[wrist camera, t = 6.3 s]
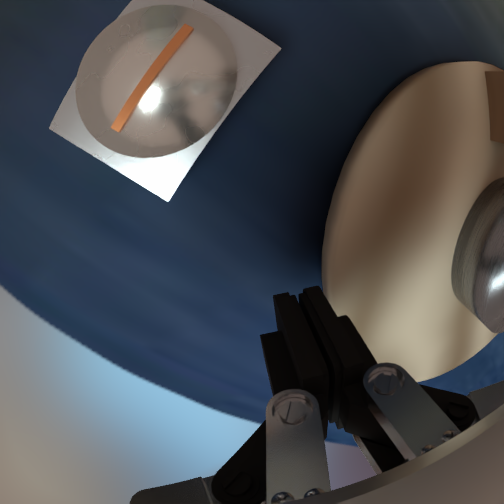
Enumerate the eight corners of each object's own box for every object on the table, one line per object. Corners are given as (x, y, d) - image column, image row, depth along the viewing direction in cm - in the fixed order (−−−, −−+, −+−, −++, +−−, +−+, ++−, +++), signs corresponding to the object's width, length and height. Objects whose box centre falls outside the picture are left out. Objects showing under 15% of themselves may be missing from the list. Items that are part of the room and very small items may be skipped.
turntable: (543, 92, 10) (587, 101, 6) (512, 317, 19) (540, 344, 14) (295, 44, 9) (344, 5, 5) (322, 402, 18) (342, 456, 13)
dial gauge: (165, 7, 8) (148, -33, 5) (264, 65, 10) (288, 42, 7) (83, 125, 10) (36, 130, 7) (178, 183, 12) (164, 209, 8)
